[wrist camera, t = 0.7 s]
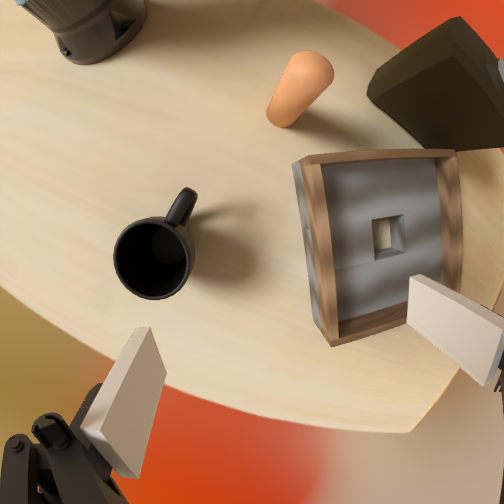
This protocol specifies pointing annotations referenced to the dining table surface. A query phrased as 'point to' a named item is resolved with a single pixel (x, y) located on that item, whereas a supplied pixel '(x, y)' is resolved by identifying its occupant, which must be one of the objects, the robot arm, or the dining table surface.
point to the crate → (361, 235)
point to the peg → (299, 87)
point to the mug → (157, 251)
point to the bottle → (445, 89)
